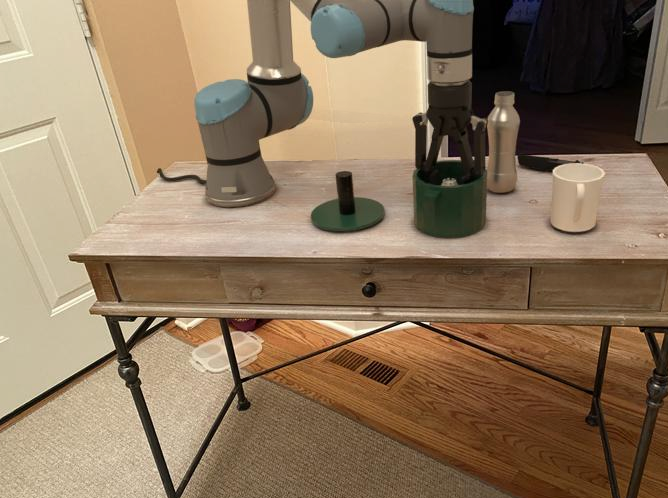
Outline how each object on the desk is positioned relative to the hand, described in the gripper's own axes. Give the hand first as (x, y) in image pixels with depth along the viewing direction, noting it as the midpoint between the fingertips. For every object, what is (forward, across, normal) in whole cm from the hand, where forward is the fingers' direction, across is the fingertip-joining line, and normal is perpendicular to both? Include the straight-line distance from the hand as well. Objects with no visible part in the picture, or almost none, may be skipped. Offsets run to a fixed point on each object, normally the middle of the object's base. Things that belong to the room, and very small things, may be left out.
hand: (449, 206), depth 116 cm
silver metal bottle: (+4, +4, +18) cm, 19 cm away
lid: (+3, -20, -5) cm, 21 cm away
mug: (+3, +22, +6) cm, 23 cm away
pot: (+3, 0, 0) cm, 3 cm away
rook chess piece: (+3, 0, 0) cm, 3 cm away
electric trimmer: (+4, +11, +32) cm, 34 cm away
